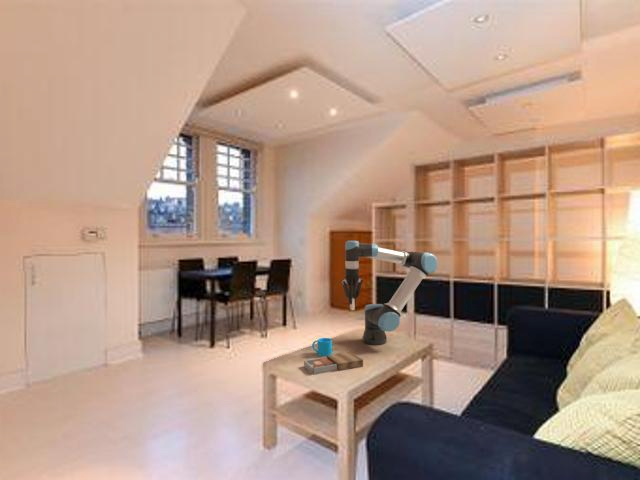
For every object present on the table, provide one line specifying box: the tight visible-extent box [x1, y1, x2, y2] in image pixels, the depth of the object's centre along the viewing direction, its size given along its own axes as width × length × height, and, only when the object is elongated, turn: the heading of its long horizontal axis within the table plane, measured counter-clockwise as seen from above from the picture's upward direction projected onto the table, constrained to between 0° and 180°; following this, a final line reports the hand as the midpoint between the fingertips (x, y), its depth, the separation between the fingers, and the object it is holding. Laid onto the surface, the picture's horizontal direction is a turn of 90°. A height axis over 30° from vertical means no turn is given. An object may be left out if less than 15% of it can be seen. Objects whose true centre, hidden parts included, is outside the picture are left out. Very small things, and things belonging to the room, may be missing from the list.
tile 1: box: [313, 361, 325, 368], centre depth 200 cm, size 4×4×2 cm
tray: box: [303, 357, 338, 375], centre depth 200 cm, size 13×12×3 cm
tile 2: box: [320, 356, 333, 365], centre depth 202 cm, size 4×4×2 cm
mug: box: [311, 337, 333, 358], centre depth 222 cm, size 12×8×8 cm
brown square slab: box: [327, 351, 364, 372], centre depth 206 cm, size 14×14×4 cm
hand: (352, 309), depth 224 cm, fingers closed
